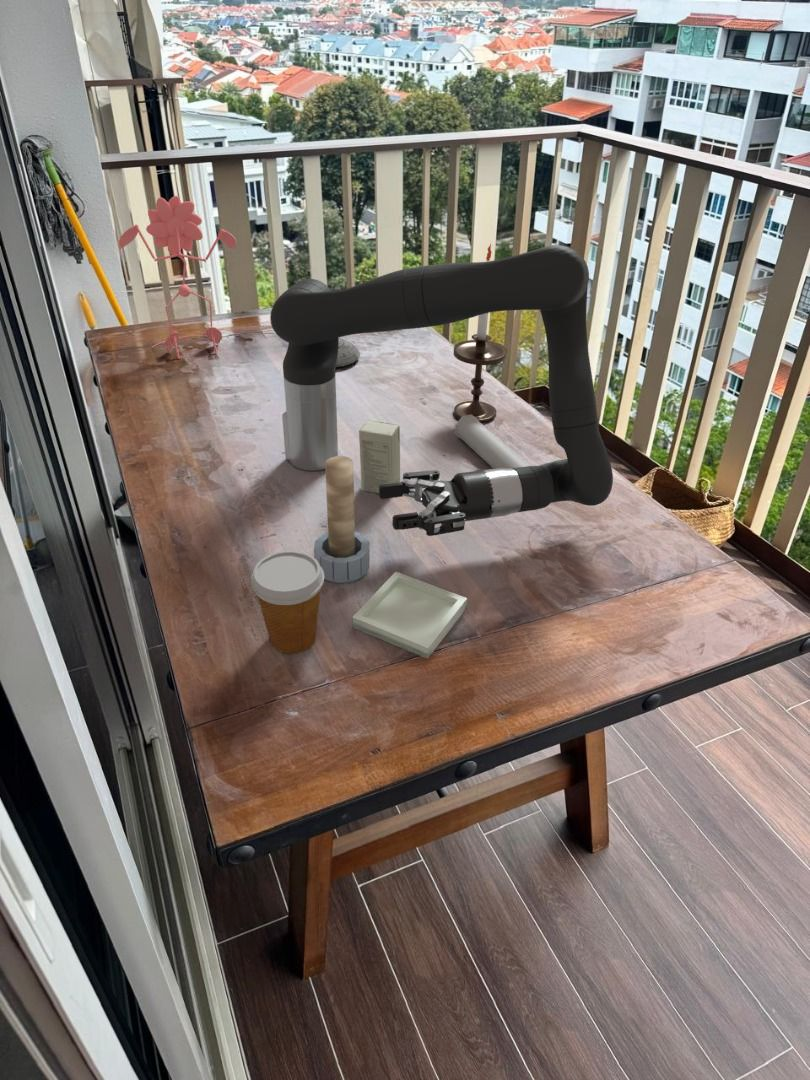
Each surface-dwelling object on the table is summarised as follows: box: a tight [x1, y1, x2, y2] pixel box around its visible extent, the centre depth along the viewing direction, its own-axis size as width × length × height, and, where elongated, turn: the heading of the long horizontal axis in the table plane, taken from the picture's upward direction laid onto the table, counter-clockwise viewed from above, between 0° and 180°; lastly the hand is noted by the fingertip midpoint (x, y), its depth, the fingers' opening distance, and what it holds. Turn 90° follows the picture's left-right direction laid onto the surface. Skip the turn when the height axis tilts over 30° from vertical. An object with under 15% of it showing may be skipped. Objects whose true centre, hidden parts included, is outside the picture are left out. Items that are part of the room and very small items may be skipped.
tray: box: [352, 571, 468, 659], centre depth 108 cm, size 12×12×2 cm
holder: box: [313, 531, 371, 584], centre depth 117 cm, size 8×8×4 cm
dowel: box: [324, 455, 356, 558], centre depth 112 cm, size 4×4×18 cm
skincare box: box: [358, 419, 401, 494], centre depth 133 cm, size 6×4×12 cm
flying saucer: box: [335, 337, 361, 368], centre depth 183 cm, size 15×15×6 cm
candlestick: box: [452, 243, 508, 425], centre depth 151 cm, size 11×11×35 cm
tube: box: [454, 415, 531, 469], centre depth 143 cm, size 5×5×25 cm
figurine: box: [118, 195, 237, 360], centre depth 178 cm, size 15×26×35 cm, turn 113°
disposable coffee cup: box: [250, 550, 325, 655], centre depth 101 cm, size 10×10×12 cm
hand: (385, 507), depth 114 cm, fingers open, 8 cm apart
